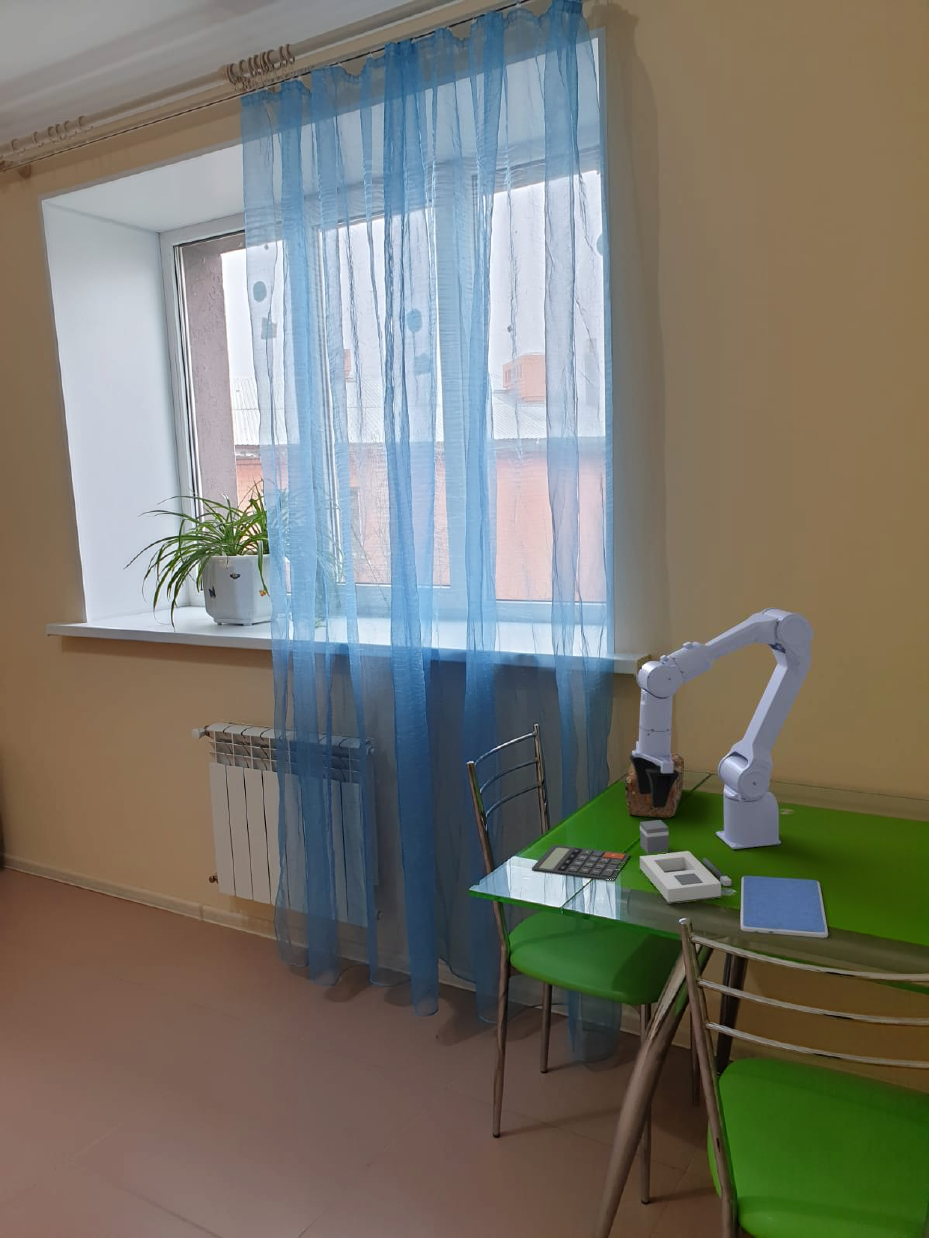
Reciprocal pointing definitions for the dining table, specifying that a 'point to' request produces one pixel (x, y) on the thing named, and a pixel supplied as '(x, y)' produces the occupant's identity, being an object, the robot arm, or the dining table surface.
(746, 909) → the tablet computer
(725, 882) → the cable
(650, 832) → the block
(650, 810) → the bread
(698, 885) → the switch plate
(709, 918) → the dining table surface
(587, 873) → the calculator
